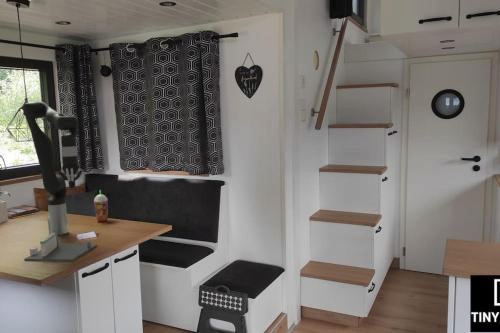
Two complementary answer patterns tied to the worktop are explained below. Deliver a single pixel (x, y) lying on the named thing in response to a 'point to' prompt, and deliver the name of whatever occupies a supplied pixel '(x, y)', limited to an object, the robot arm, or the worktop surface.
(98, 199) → the smoothie
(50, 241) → the gate
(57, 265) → the worktop surface
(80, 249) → the gate frame
